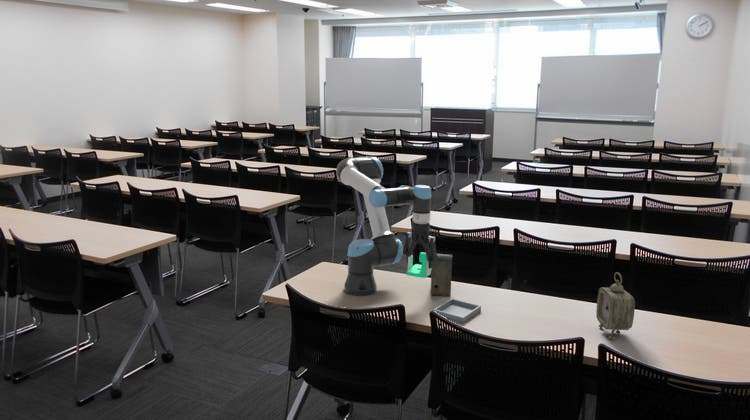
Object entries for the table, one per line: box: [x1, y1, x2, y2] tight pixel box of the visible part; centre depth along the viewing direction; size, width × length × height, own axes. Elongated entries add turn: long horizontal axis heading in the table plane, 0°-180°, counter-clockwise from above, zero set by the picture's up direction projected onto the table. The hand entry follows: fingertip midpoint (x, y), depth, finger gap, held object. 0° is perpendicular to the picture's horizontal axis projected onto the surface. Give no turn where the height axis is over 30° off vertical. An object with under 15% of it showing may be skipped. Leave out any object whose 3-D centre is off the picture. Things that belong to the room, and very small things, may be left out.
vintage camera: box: [430, 253, 453, 297], centre depth 262 cm, size 10×15×20 cm, turn 174°
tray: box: [432, 298, 482, 324], centre depth 238 cm, size 14×16×2 cm
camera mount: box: [406, 251, 432, 279], centre depth 243 cm, size 12×8×10 cm, turn 157°
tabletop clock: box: [595, 271, 636, 340], centre depth 217 cm, size 14×9×25 cm, turn 178°
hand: (419, 272), depth 244 cm, fingers closed on camera mount, 8 cm apart
